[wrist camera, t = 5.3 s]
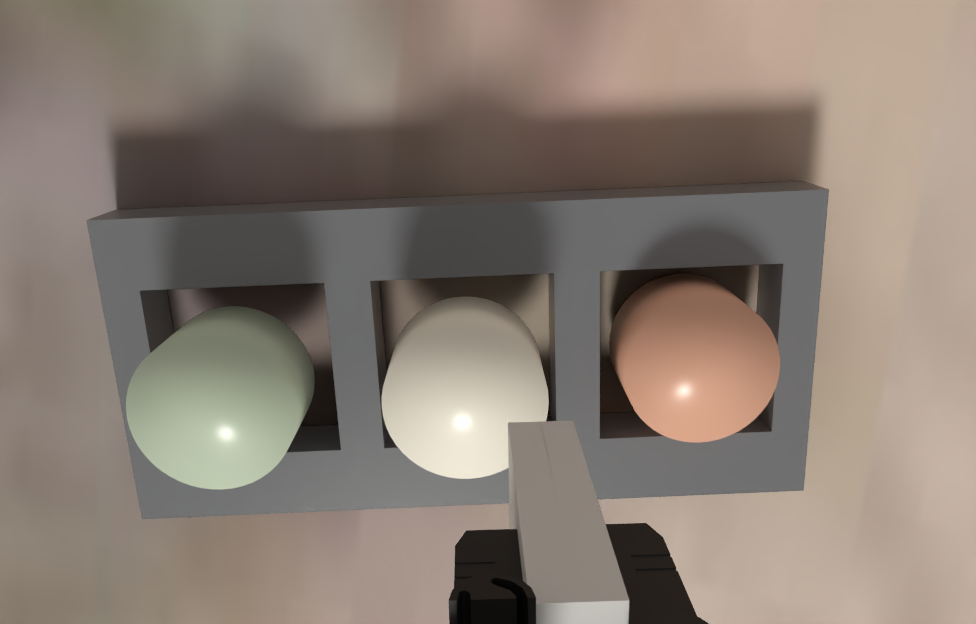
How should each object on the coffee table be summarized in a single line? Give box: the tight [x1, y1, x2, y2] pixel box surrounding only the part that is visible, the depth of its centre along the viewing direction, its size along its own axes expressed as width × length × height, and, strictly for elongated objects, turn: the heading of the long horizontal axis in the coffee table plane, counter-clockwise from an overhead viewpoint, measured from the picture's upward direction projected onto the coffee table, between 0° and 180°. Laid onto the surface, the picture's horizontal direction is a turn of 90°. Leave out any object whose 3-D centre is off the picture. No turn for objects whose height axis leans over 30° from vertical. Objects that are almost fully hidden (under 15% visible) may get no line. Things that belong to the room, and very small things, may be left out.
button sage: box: [126, 306, 315, 490], centre depth 23 cm, size 5×5×3 cm
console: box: [87, 181, 829, 519], centre depth 26 cm, size 22×10×2 cm, turn 92°
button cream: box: [382, 296, 549, 479], centre depth 23 cm, size 5×5×3 cm
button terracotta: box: [609, 274, 780, 443], centre depth 25 cm, size 5×5×3 cm
